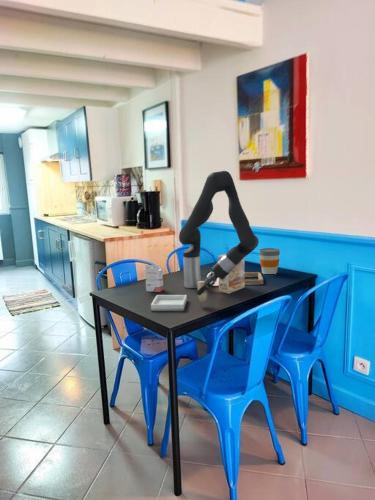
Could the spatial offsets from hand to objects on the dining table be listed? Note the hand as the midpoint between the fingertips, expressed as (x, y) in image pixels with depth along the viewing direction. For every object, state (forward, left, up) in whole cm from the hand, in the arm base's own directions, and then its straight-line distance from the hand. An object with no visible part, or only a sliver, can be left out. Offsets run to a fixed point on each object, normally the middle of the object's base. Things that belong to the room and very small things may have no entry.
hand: (198, 292), depth 174 cm
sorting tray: (-2, -14, -7) cm, 16 cm away
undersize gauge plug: (0, +2, -4) cm, 5 cm away
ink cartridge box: (-28, -26, -7) cm, 39 cm away
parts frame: (-48, +24, -7) cm, 54 cm away
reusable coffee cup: (-65, +40, -7) cm, 76 cm away
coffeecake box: (-29, +16, -7) cm, 34 cm away
